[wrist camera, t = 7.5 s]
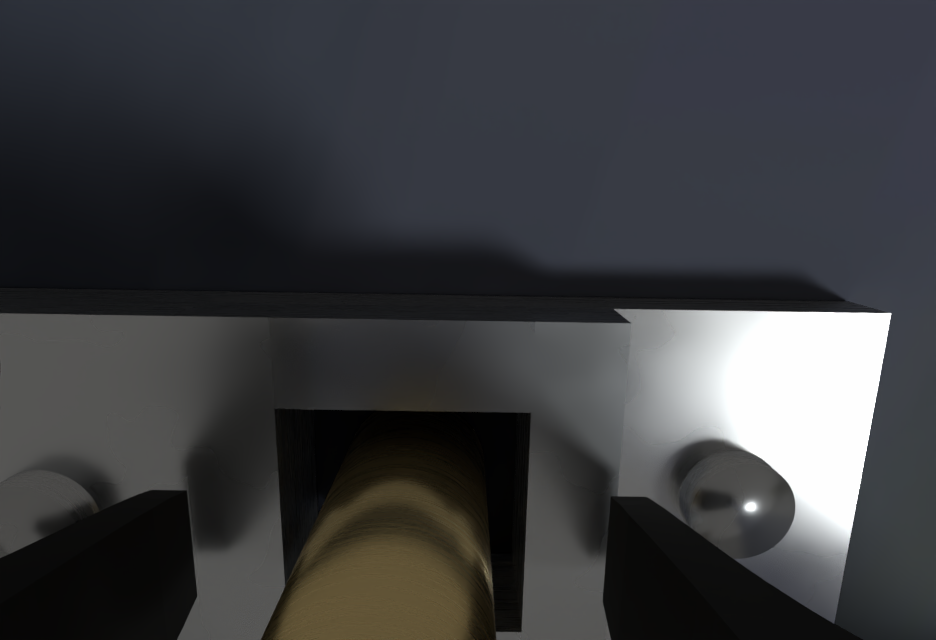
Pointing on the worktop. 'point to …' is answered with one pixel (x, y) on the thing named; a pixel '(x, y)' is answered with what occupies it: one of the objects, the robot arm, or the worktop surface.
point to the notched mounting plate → (453, 390)
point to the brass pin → (397, 539)
